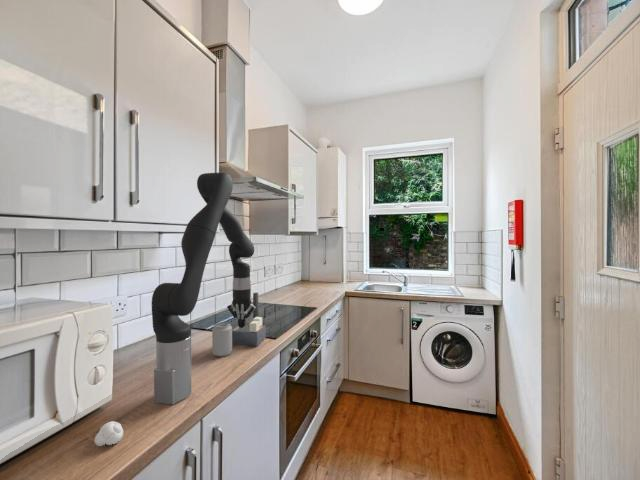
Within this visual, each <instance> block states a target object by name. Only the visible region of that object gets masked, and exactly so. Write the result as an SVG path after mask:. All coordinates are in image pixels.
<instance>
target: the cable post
mask: <svg viewBox="0 0 640 480" xmlns="http://www.w3.org/2000/svg"><path fill="white" fill-rule="evenodd" d="M252 300H253V301H252V305H253V306H256V309H255V310H254V311H253V313H252V320H253V319H254V318H255V317H259V292H253V293H252Z"/></svg>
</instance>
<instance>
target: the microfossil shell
mask: <svg viewBox="0 0 640 480" xmlns="http://www.w3.org/2000/svg"><path fill="white" fill-rule="evenodd" d="M123 436H124V429H123V427H122V424H121V423H119V422H117V421H109V422H106V423H105V424H103V425H102V426H101V427H100V429H99V431H98V433H96V435H95V436H94V444H95V445H96V446H97V447H104V446H105V444H106V445H107V446H112V444H113V445H115V444H117V443H119V442H120V441H121V440H122V439H123ZM118 441H119V442H118ZM103 445H104V446H103Z"/></svg>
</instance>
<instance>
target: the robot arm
mask: <svg viewBox="0 0 640 480" xmlns="http://www.w3.org/2000/svg"><path fill="white" fill-rule="evenodd" d="M233 184H234V182H233V179H232V176H231V175H230V174H228V173H227V172H208V173H206V172H205V173H202V174H200V175H199V176H198V178H197V180H196V186H197V187H196V188H197V190H198V193H199V194H200V196H201V198H202V200H204V202H205V204H206V205H204V207H202V209H200V210H199V211H198V212H197V213H196V214H195V215H193V217H191V219H190V220H189V222H188V223H187V224H186V227H185V230H184V232H183V235H182V238H181V242H180V243H181V250H182V254H183V255H182V256H183V258H184V262H185V269H184V273H183V275H182V276H183V277H182V279H181V282H179V283H177V282H163V283H160V284H159V285H157V287H156V288H155V289H154V291H153V293H152V298H151V316H152V318H151V319H152V329H153V333H154V334H155V345H156V346H155V352H156V353H155V357H156V358H155V359H156V360H155V362H156V363H155V366H156V367H155V368H154V370H153V392H154V393H153V395H154V396H153V402H154V403H156V404H163V405H164V404H165V405H175V404H176V403H178V402H181V401H183V400H185V399H187V398H188V397H189V396H190V395H191V394H192V328H191V326H190V325H189V324H188V323H187V322H185V321H184V320H182V319H181V318H180V317H185V316H188V315H190V314H191V313H192V312H193V310H194V309H195V307H196V305H197V302H198V298H199V294H200V290H201V286H202V280H203V276H204V272H205V269H206V265H207V262H208V258H209V255H210V253H211V252H210V251H211V250H212V246H213V244H214V240H215V238H216V234H217V232H218V231H217V230H218V227H219V224H220V226H221V228H222V230H223V232H224V234H225V236H226V239H227V241H229V242H230V244H229V245H228V246H229V248H228V254H229V258H230V261H231V264H232V265H231V266H232V270H233V271H232V301H231V304H230V305H227V307H226V308H227V309H228V311H229V312H230V314H232V316H233V318H236V319H237V326H239V328H243V327H244V326H245V324H246V320H247V319H248V318H250V317H251V315H253V311H254V310H255V309H256V306H253V301H252V300H251V299H252V298H251V297H252V296H251V294H252V293H251V290H252V288H251V287H252V285H251V281H252V280H251V266H250V264H249V263H247V262H243V261H242V259H250V258H252V257H253V256H254V253H255V247H254V244H253V242H252V240H251V239H250V238H249V236H248V235H247V234H246V233H245V232H244V230H243V227H242V225H241V223H240V220H239V219H238V218H237V216H236V215H235V214H233V213H232V211H230V210H229V209H228V208H227V207H226V206H227V205H228V202H229V200H230V197H231V195H232V192H233V186H234V185H233ZM248 310H249V311H248Z"/></svg>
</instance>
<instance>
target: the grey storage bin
mask: <svg viewBox="0 0 640 480" xmlns="http://www.w3.org/2000/svg"><path fill="white" fill-rule="evenodd" d="M266 329H267V327H266V325H263V324H262V326H260V327H259V330H258V331H257V332H251V331H250V323H247V324H246V323H245V326H244V327H243V328H239V326H238V325H237V326H236V327H235V328H232V346H239V347H241V346H242V347H255V348H257V347H259V346H260V345H261V344H262V343H263V342H264V341H265V340H264V339H265V338H267V337H266V336H267V332H266ZM263 340H264V341H263ZM262 341H263V342H262ZM261 342H262V343H261Z"/></svg>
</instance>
